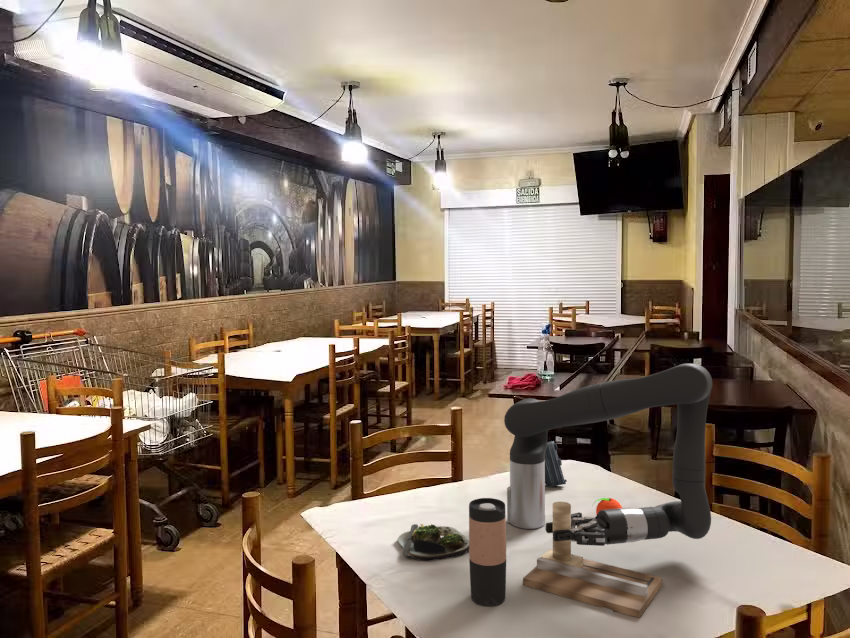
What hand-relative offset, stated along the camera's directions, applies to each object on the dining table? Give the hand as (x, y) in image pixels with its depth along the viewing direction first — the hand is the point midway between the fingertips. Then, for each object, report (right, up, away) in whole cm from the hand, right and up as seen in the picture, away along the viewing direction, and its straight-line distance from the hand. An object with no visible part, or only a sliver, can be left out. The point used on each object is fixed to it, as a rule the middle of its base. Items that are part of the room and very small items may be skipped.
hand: (550, 532), depth 146 cm
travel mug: (-15, -11, -10) cm, 21 cm away
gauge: (+3, -8, +1) cm, 8 cm away
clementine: (+21, -7, +28) cm, 36 cm away
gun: (+9, -5, +60) cm, 61 cm away
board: (+8, -10, -5) cm, 14 cm away
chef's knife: (+9, -11, -10) cm, 17 cm away
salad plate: (-26, -9, +16) cm, 32 cm away
